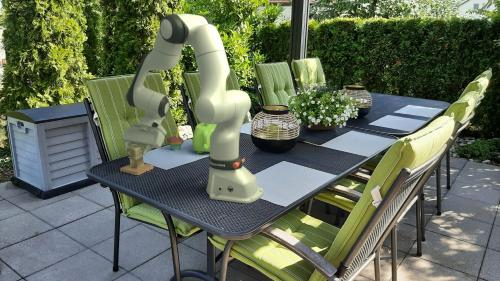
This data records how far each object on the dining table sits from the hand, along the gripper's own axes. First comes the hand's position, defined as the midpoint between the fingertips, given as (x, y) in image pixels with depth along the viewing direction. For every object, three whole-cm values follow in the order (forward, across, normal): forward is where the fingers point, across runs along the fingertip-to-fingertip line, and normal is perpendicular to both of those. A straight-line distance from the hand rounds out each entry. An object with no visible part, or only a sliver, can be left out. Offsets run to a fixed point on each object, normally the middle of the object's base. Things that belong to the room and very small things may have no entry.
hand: (135, 152), depth 164 cm
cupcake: (-18, -5, +31) cm, 36 cm away
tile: (+6, 0, +7) cm, 9 cm away
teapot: (-25, +13, +37) cm, 46 cm away
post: (+4, 0, +5) cm, 7 cm away
